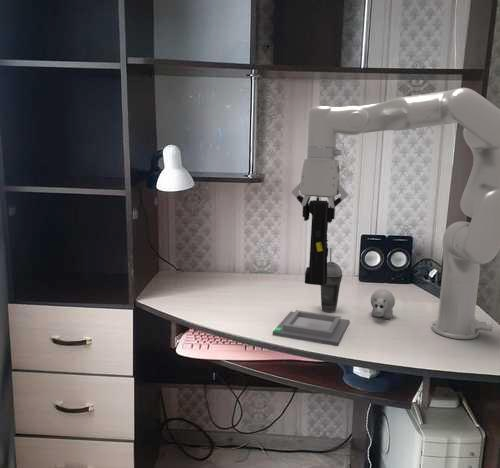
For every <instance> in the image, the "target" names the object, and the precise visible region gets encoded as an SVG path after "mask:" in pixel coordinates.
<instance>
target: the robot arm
mask: <svg viewBox="0 0 500 468" xmlns="http://www.w3.org/2000/svg"><path fill="white" fill-rule="evenodd" d="M450 124H451V125H452V124H459V125H460V126H462V127H463V131H462V135H463V139H464V141H465V143H466V144H467V146H468V147H469V148H470V150H471V153H472V157H473V163H472V168H471V171H470V175H469V177H468V180H467V182H466V185H465V187H464V191H463V193H462V195H461V199H460V202H459V203H460V204H459V205H460V206H459V207H460V209H461V212H462V213H463V214H464V215H465V216H466V217H469V218H471V220H470V222H469V221H456V222H454V223H451V224H450V225H449V226H448V227H447V228H446V229H445V231H444V233H443V238H442V254H443V255H442V256H443V259H442V260H443V261H442V263H443V264H442V274H441V284H440V294H439V303H438V312H437V320H435V321H433V322H431V324H430V325H431V327H430V328H431V330H432V331H433V332H434V333H436V334H438V335H440V336H443V337H447V338H451V339H454V340H455V339H456V340H472V339H476V338H478V337H479V334H480V331H484V332H491V333H492V332H493V331H492V330H493V324H489V323H487V322H486V321H479V320H477V318H476V307H477V299H478V298H477V297H478V292H479V291H478V289H479V288H478V287H479V281H480V272H481V271H480V270H481V267H480V265H484V264H487V263H489V262H491V261H492V260H493V259H495V257H496V256H497V255H498V253H499V252H500V108H499V107H498V106H496V105H494V104H493V102H491V101H489V100H488V99H486V97H484V96H482V95H481V94H479V93H478V92H476V91H475V90H474V89H471V88H468V87H459V88H454V89H450V90H445V91H444V90H443V91H437V92H430V93H423V94H422V93H421V94H416V95H414V94H413V95H407V96H403V97H402V96H401V97H396V98H393V99H390V100H387V101H384V102H383V101H382V102H378V103H373V104H366V105H347V106H337V107H336V106H335V107H334V106H330V105H316V106H313V107H310V108H309V111H308V125H307V146H306V147H307V150H306V154H307V155H306V158H304V161H303V165H302V168H301V169H302V170H301V177H300V183H298V184H297V185H296V186H295V187H294V189H292V190H291V194H292V195H293V196H294V197H295V198H296V200H297V202H299V203H300V205H301V206H302V218H303V221H304V222H305V221H306V222H307V221H308V220H310V215H311V213H308V211H309V202H310V201H311V198H312V197H316V198H317V197H318V198H327V202H328V203H329V208H328V224H331V223H332V222H333V220H335V213H336V207H337V206H338V205H339V204H340V203H342V201H344V200H345V199H346V198H347V197H348V196H349V194H348V192H347V191H346V190H345V188H344V187H343V186H342V185H341V181H340V180H341V179H340V178H341V175H340V174H341V173H340V172H341V171H340V161H339V159H336V158H337V156H341V155H342V150H341V149H338V148H337V139H338V138H337V135H338V134H340V135H342V136H348V137H349V136H357V135H360V134H368V133H376V132H382V131H383V132H386V131H387V132H388V131H396V132H397V131H405V130H407V131H408V130H412V129H413V130H414V129H420V128H428V127H436V126H442V125H450ZM339 194H340V195H339ZM338 195H339V197H337V198H336V199H335V197H336V196H338ZM303 196H304V197H303Z"/></svg>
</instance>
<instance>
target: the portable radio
mask: <svg viewBox="0 0 500 468" xmlns="http://www.w3.org/2000/svg"><path fill="white" fill-rule="evenodd" d="M308 203H309V211H308V213H310V215H311V229H310V243H309V244H310V245H309V247H310V248H309V260H308V261H309V263H308V266H307V267H306V269H305V272H304V284H305V285H314V286H321V285H323V286H324V285H325V284H326V283H327V263H328V257H329V247H328V227H329V223H328V208H329V206H330V204H329V201H328V200H321V199H320V197H316V199H314V200H309V202H308Z"/></svg>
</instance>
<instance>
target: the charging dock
mask: <svg viewBox="0 0 500 468" xmlns="http://www.w3.org/2000/svg"><path fill="white" fill-rule="evenodd" d="M349 325H350V319H345V318H342V317H341V316H338V315H332V314H325V313H318V312H311V311H303V310H298V309H297V310H296V309H295V311H289V313H288V314H287V315H286V316H285V317H284V318H283V320H282V321H281V322H280V323H279V324H278V325H277V326H276V327H275V328H274V330H273V331H272V336H275V337H279V338H280V337H281V338H286V339H292V340H297V341H298V340H299V341H305V342H309V343H310V342H311V343H317V344H323V345H329V346H335V347H338V346H339V345H340V343H341V341H342V339H343V337H344V334H345V333H346V330H347V328H348V327H349Z"/></svg>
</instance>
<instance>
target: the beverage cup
mask: <svg viewBox="0 0 500 468" xmlns="http://www.w3.org/2000/svg"><path fill="white" fill-rule="evenodd" d="M342 279H343V270H342V268H341V266H339V264H337V263H336V262H333V261H332V247H329V261H327V283H326V284H325V285H324V286H323V285H320V303H321V304H320V305H321V311H322V312H324V313H336V312H337V306H338V301H339V296H340V295H339V294H340V287H341V282H342Z"/></svg>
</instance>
